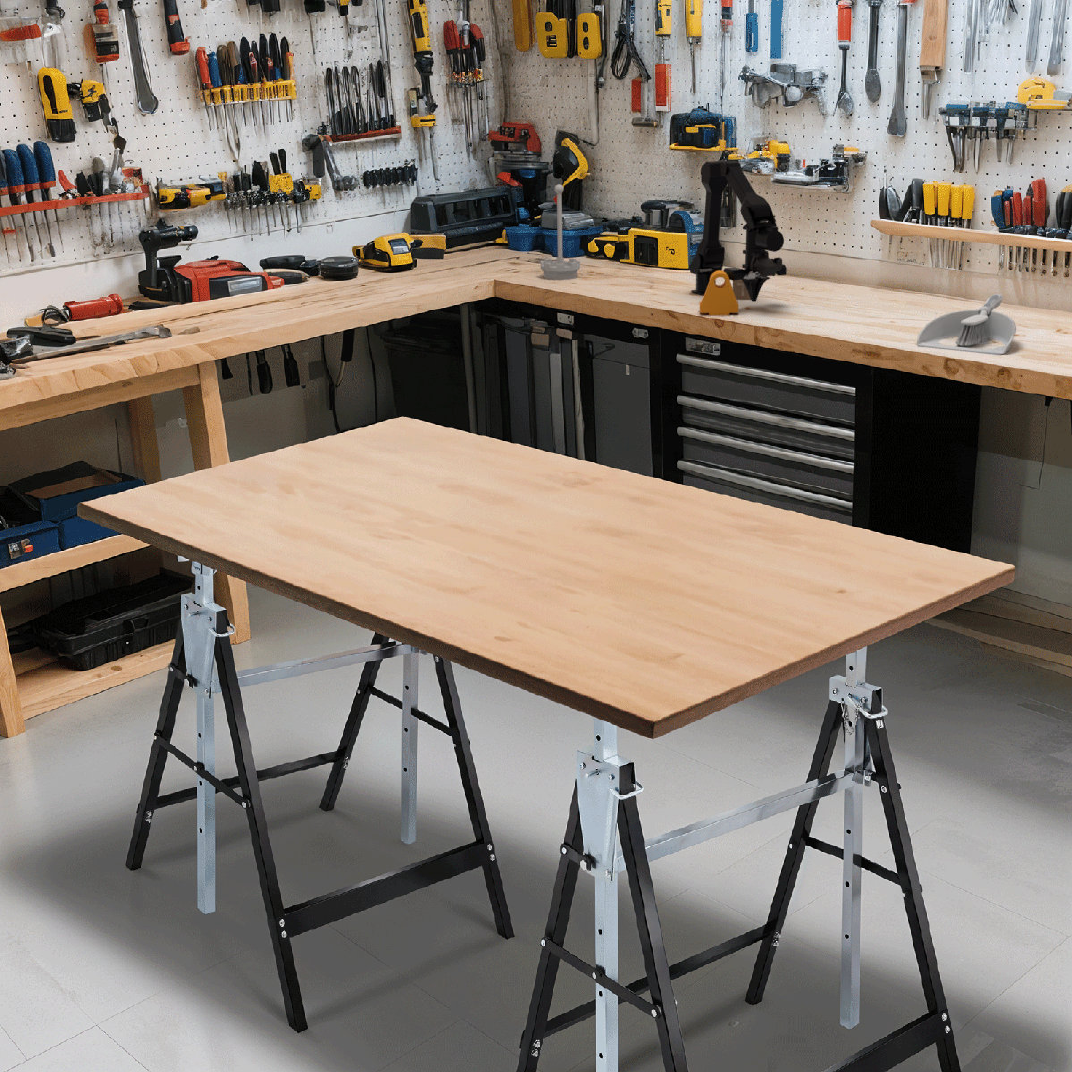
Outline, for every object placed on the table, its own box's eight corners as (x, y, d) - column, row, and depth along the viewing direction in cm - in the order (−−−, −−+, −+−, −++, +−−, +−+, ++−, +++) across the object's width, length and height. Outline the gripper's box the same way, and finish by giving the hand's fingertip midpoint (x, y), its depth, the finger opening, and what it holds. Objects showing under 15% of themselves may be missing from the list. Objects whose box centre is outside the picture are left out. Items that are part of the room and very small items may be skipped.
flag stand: (586, 278, 449) (585, 184, 438) (550, 281, 444) (548, 187, 433) (570, 272, 460) (569, 181, 449) (534, 275, 455) (532, 183, 445)
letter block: (732, 296, 414) (732, 276, 412) (752, 296, 413) (753, 276, 411) (732, 300, 408) (733, 280, 406) (752, 300, 407) (753, 280, 405)
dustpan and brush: (913, 347, 346) (915, 310, 343) (953, 323, 372) (956, 288, 368) (1005, 356, 334) (1009, 318, 331) (1040, 331, 360) (1044, 295, 356)
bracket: (736, 310, 394) (738, 268, 390) (738, 315, 387) (739, 273, 383) (699, 310, 395) (700, 269, 391) (700, 315, 388) (701, 273, 384)
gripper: (743, 253, 379) (742, 309, 384) (799, 247, 386) (796, 302, 392) (722, 248, 388) (720, 303, 394) (776, 242, 396) (774, 296, 401)
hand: (753, 301), depth 395 cm, fingers closed
